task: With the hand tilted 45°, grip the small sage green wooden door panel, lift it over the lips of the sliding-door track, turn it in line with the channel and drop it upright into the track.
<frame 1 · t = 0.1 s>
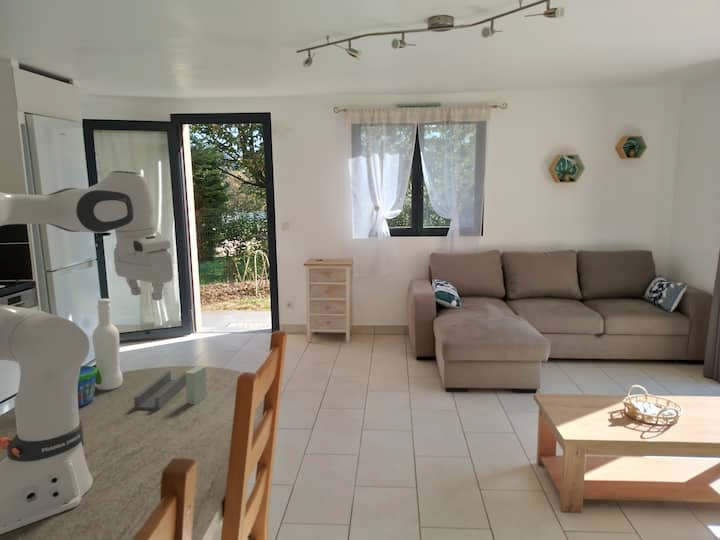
hand: (146, 297, 116), 39 cm above the table, tool pointing down, fingers open, 8 cm apart
snack cup: (79, 403, 148), on the table
door panel: (196, 400, 150), on the table
track: (163, 394, 154), on the table
bottle: (109, 386, 161), on the table
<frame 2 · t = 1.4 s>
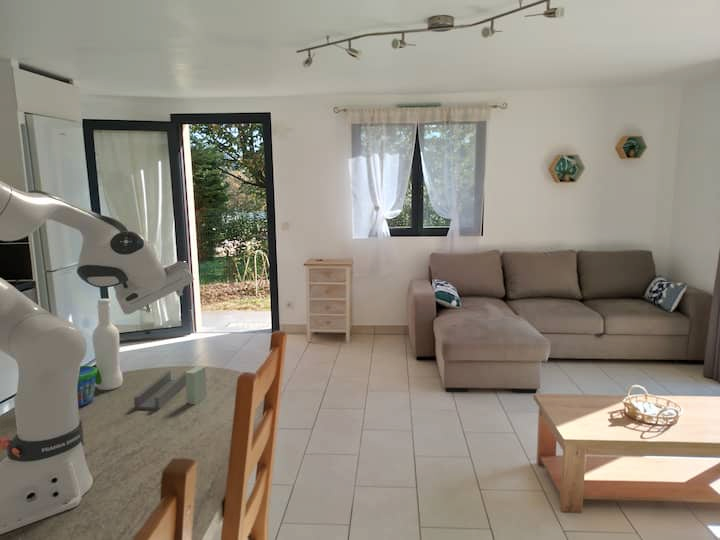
hand: (164, 301, 138), 33 cm above the table, tool tilted 50°, fingers open, 8 cm apart
nothing on the table moved.
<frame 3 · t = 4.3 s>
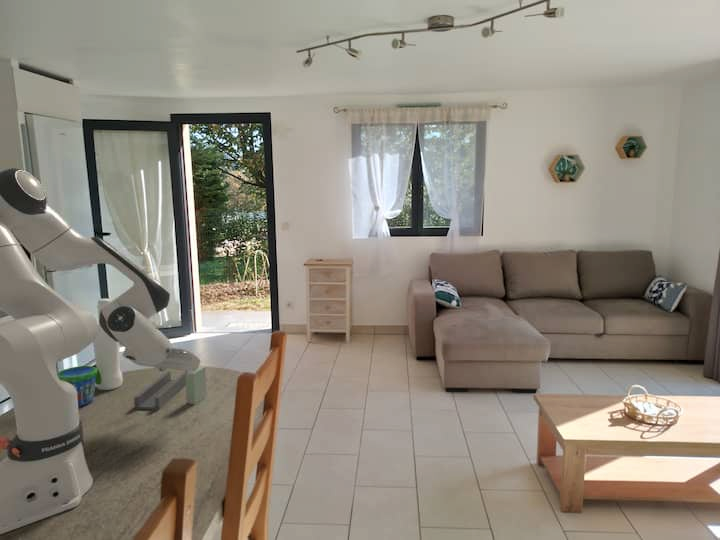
hand: (177, 370, 142), 12 cm above the table, tool tilted 45°, fingers open, 8 cm apart
nothing on the table moved.
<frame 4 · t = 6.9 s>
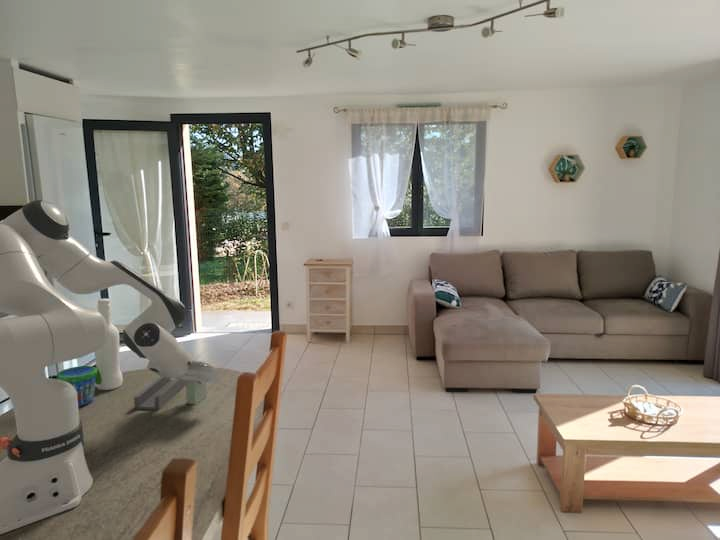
hand: (197, 381, 150), 6 cm above the table, tool tilted 45°, fingers closed on door panel, 3 cm apart
door panel: (196, 400, 150), on the table, touching gripper
everything else where it was.
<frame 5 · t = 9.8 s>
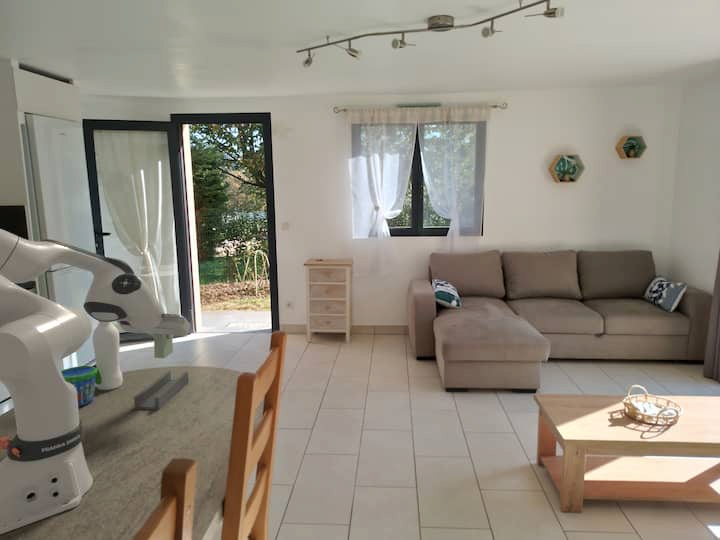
hand: (164, 336, 152), 19 cm above the table, tool tilted 45°, fingers closed on door panel, 3 cm apart
door panel: (163, 354, 152), point 13 cm above the table, touching gripper
everything else where it was.
when the fingers open (8 cm above the table, at t = 12.9 s): door panel drops 1 cm, resting on track.
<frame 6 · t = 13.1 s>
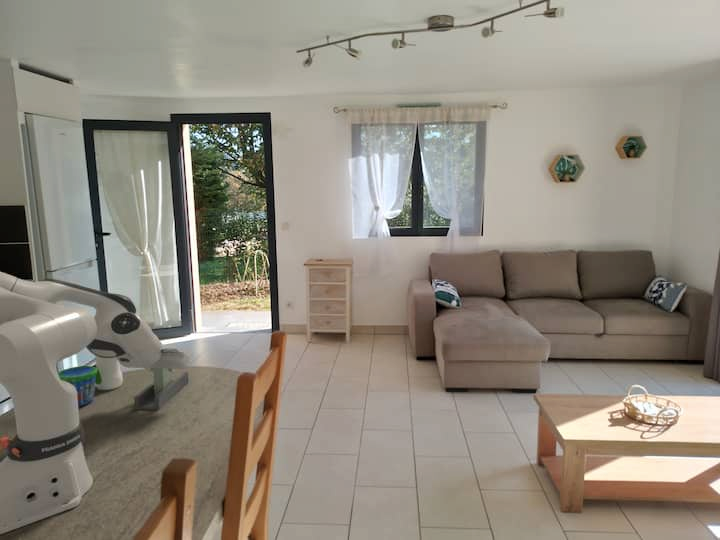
hand: (163, 369, 154), 8 cm above the table, tool tilted 45°, fingers open, 5 cm apart
door panel: (163, 392, 154), point 1 cm above the table, touching track
everything else where it was.
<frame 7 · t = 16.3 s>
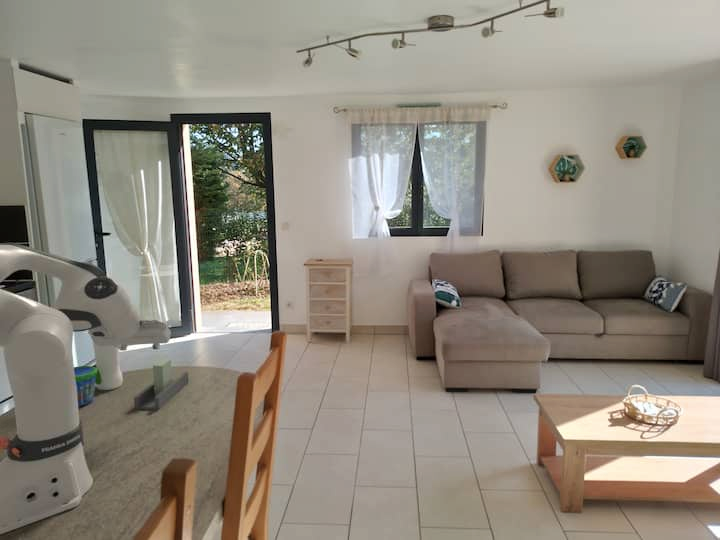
hand: (140, 347, 140), 19 cm above the table, tool tilted 45°, fingers open, 8 cm apart
nothing on the table moved.
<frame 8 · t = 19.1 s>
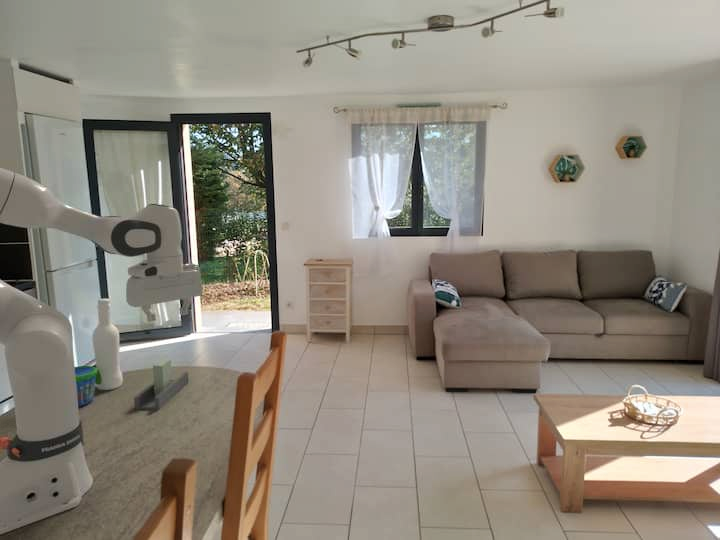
hand: (168, 317, 127), 31 cm above the table, tool pointing down, fingers open, 8 cm apart
nothing on the table moved.
at the end: door panel inside the target area on the track (0.1 cm from its centre), point 0.8 cm above the track's base; door panel tilted 0°; the gripper is holding nothing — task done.
